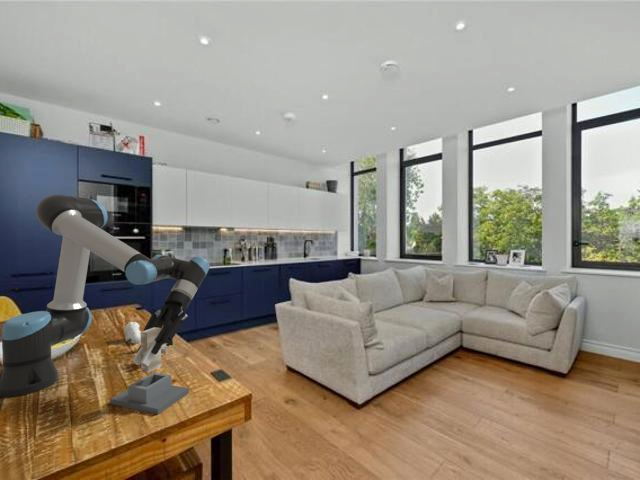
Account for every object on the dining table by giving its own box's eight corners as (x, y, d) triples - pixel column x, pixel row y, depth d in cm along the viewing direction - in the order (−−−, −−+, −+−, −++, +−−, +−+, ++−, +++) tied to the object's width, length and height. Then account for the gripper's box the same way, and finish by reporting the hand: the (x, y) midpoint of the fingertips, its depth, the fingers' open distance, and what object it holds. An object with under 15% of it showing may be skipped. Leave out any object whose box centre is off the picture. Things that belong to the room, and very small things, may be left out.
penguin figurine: (138, 319, 149) (145, 326, 140) (138, 336, 149) (144, 344, 141) (123, 321, 144) (129, 329, 136) (123, 339, 145) (129, 348, 136)
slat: (141, 372, 90) (140, 332, 90) (155, 365, 95) (154, 327, 95) (147, 373, 90) (146, 332, 89) (161, 366, 94) (160, 327, 94)
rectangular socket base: (110, 403, 90) (109, 385, 90) (144, 384, 101) (144, 368, 101) (158, 414, 84) (157, 394, 84) (189, 392, 96) (188, 375, 96)
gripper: (205, 303, 104) (168, 371, 89) (169, 300, 109) (128, 365, 94) (194, 290, 99) (153, 361, 84) (156, 288, 104) (111, 355, 88)
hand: (140, 363), depth 89 cm, fingers closed on slat, 2 cm apart
